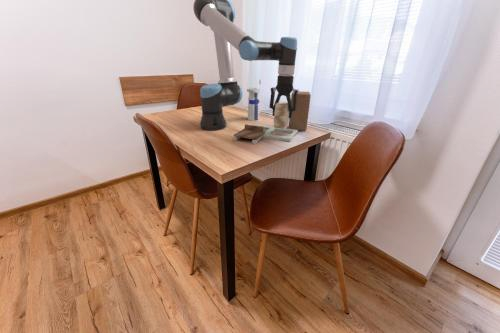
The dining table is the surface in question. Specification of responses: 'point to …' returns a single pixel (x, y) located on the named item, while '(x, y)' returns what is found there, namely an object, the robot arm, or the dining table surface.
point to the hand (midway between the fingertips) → (281, 123)
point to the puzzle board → (270, 131)
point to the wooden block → (300, 111)
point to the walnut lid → (250, 132)
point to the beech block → (281, 115)
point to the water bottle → (253, 103)
